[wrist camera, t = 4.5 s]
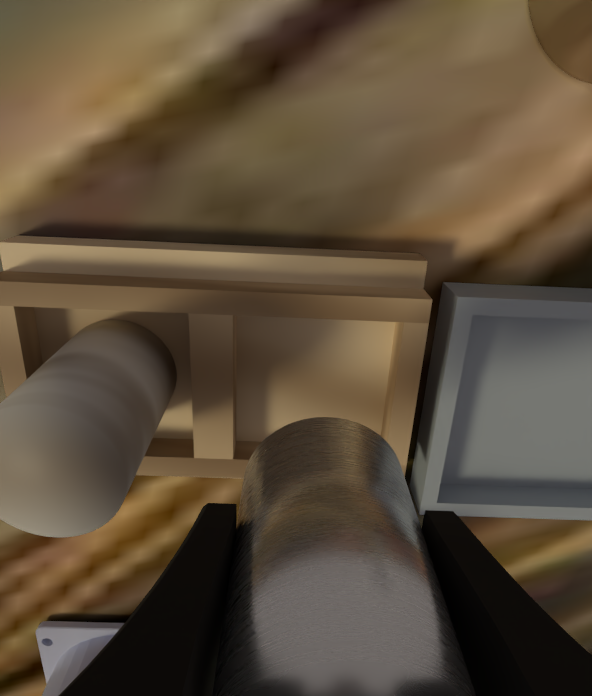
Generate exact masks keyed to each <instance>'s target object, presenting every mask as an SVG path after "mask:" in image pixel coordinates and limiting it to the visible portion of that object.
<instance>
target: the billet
mask: <svg viewBox="0 0 592 696" xmlns="http://www.w3.org/2000/svg"><path fill="white" fill-rule="evenodd" d="M212 696H476V694H475V691H474V688H473V685H472V682H471V679H470V676H469V673H468V670H467V666H466V663H465V660H464V657H463V654H462V651H461V648H460V645H459V642H458V639H457V636H456V633H455V630H454V627H453V624H452V621H451V618H450V615H449V612H448V608H447V605H446V602H445V599H444V596H443V593H442V590H441V587H440V584H439V581H438V578H437V575H436V572H435V569H434V566H433V563H432V560H431V557H430V553H429V550H428V547H427V544H426V541H425V538H424V535H423V532H422V529H421V526H420V523H419V520H418V517H417V514H416V511H415V508H414V505H413V502H412V499H411V495H410V492H409V489H408V486H407V483H406V480H405V477H404V474H403V471H402V468H401V465H400V462H399V460H398V458H397V455H396V453H395V452H394V450H393V449H392V447H391V446H390V445H389V444H388V443H387V442H386V440H385V439H384V438H382V437H381V436H380V435H379V434H378V433H376V432H375V431H373V430H371V429H370V428H368V427H366V426H364V425H362V424H359V423H357V422H354V421H350V420H347V419H341V418H333V417H315V418H309V419H303V420H300V421H296V422H293V423H291V424H288V425H286V426H284V427H282V428H280V429H278V430H276V431H275V432H273V433H272V434H271V435H269V436H268V437H267V438H265V439H264V440H263V441H262V442H261V443H260V444H259V446H258V447H257V448H256V449H255V451H254V452H253V454H252V455H251V457H250V459H249V461H248V464H247V466H246V469H245V474H244V480H243V486H242V493H241V500H240V507H239V514H238V521H237V528H236V536H235V543H234V550H233V557H232V564H231V570H230V576H229V583H228V590H227V597H226V603H225V610H224V617H223V624H222V631H221V638H220V645H219V652H218V658H217V665H216V672H215V679H214V686H213V693H212Z"/></svg>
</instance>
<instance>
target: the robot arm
mask: <svg viewBox="0 0 592 696" xmlns="http://www.w3.org/2000/svg"><path fill="white" fill-rule="evenodd" d="M422 532H423V535H424V538H425V541H426V544H427V547H428V550H429V553H430V557H431V560H432V563H433V566H434V569H435V572H436V575H437V578H438V581H439V584H440V587H441V590H442V593H443V596H444V599H445V602H446V605H447V608H448V612H449V615H450V618H451V621H452V624H453V627H454V630H455V633H456V636H457V639H458V642H459V645H460V648H461V651H462V654H463V657H464V660H465V663H466V666H467V670H468V673H469V676H470V679H471V682H472V685H473V688H474V691H475V694H476V696H592V655H591V654H590V653H588V652H587V651H586V650H585V649H584V648H583V647H582V646H581V645H580V644H578V643H577V642H576V641H575V640H574V639H573V638H572V637H571V636H570V635H569V634H568V633H567V632H566V631H565V630H564V629H563V628H562V627H561V626H559V625H558V624H557V623H556V622H555V621H554V620H553V619H552V618H551V617H550V616H549V615H548V614H547V613H546V612H545V611H544V610H543V609H542V608H541V607H540V606H539V605H538V604H537V603H536V602H535V601H534V600H533V599H532V598H531V597H530V596H529V595H528V594H527V593H526V592H525V590H524V589H523V588H522V587H521V586H520V585H519V584H518V583H517V582H516V581H515V580H514V579H513V578H512V577H511V576H510V575H509V573H508V572H507V571H506V570H505V569H504V568H503V567H502V566H501V565H500V564H499V562H498V561H497V560H496V559H495V558H494V557H493V556H492V555H491V553H490V552H489V551H488V550H487V549H486V548H485V547H484V546H483V544H482V543H481V542H480V541H479V540H478V539H477V538H476V536H475V535H474V534H473V533H472V532H471V531H470V530H469V528H468V527H467V526H466V525H465V524H464V523H463V522H462V520H461V519H460V518H459V517H458V516H457V515H456V514H455V513H454V511H433V510H425V514H424V519H423V525H422ZM235 536H236V504H218V503H208V504H206V505H205V506H204V507H203V508H202V510H201V512H200V514H199V516H198V518H197V520H196V521H195V523H194V525H193V527H192V528H191V530H190V532H189V534H188V535H187V537H186V538H185V540H184V542H183V543H182V545H181V546H180V548H179V550H178V551H177V553H176V554H175V556H174V557H173V559H172V560H171V561H170V563H169V564H168V566H167V567H166V569H165V570H164V572H163V573H162V575H161V576H160V578H159V579H158V580H157V582H156V583H155V584H154V586H153V587H152V589H151V590H150V591H149V592H148V594H147V595H146V596H145V598H144V599H143V600H142V601H141V603H140V604H139V605H138V607H137V608H136V609H135V611H134V612H133V613H132V614H131V616H130V617H129V618H128V620H127V621H126V622H125V623H105V622H67V621H44V622H42V623H40V624H39V626H38V628H37V630H36V637H37V642H38V647H39V651H40V656H41V660H42V665H43V669H44V674H45V678H46V683H47V685H46V687H45V690H44V692H43V694H42V696H212V693H213V686H214V679H215V672H216V665H217V658H218V652H219V645H220V638H221V631H222V624H223V617H224V610H225V603H226V597H227V590H228V583H229V576H230V570H231V564H232V557H233V550H234V543H235Z"/></svg>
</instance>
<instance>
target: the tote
mask: <svg viewBox="0 0 592 696" xmlns="http://www.w3.org/2000/svg"><path fill="white" fill-rule="evenodd" d="M410 488H411V491H412V494H413V497H414V500H415V503H416V506H417V509H418V512H419V515H424V514H425V510H433V511H454V513H455V514H456V515H457V516H474V517H505V518H536V519H567V520H592V289H590V288H567V287H544V286H521V285H498V284H475V283H452V282H443V284H442V291H441V297H440V303H439V309H438V315H437V321H436V327H435V333H434V340H433V346H432V352H431V358H430V364H429V370H428V376H427V382H426V389H425V395H424V401H423V407H422V413H421V419H420V425H419V431H418V437H417V444H416V450H415V456H414V462H413V468H412V474H411V480H410Z"/></svg>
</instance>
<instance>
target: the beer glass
mask: <svg viewBox="0 0 592 696" xmlns="http://www.w3.org/2000/svg"><path fill="white" fill-rule="evenodd" d="M528 4H529V12H530V17H531V21H532V25H533V28H534V31H535V34H536V36H537V38H538V41H539V43H540V45H541V46H542V48H543V50H544V51H545V53H546V54H547V55H548V57H549V58H550V59H551V60H552V61H553V63H554V64H555V65H556V66H558V67H559V68H560V69H561V70H562V71H564V72H565V73H567V74H568V75H570V76H572V77H573V78H576V79H578V80H580V81H583V82H586V83H589V84H592V0H528Z"/></svg>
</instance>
